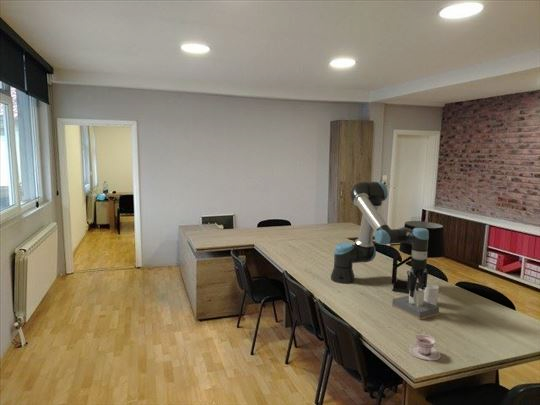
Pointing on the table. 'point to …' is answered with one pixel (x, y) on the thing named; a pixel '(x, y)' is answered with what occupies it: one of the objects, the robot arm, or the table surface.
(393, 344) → the table surface
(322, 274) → the table surface
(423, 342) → the teacup
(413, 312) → the socket box
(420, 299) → the plug
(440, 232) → the table lamp
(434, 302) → the white cup
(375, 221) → the robot arm
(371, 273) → the table surface
